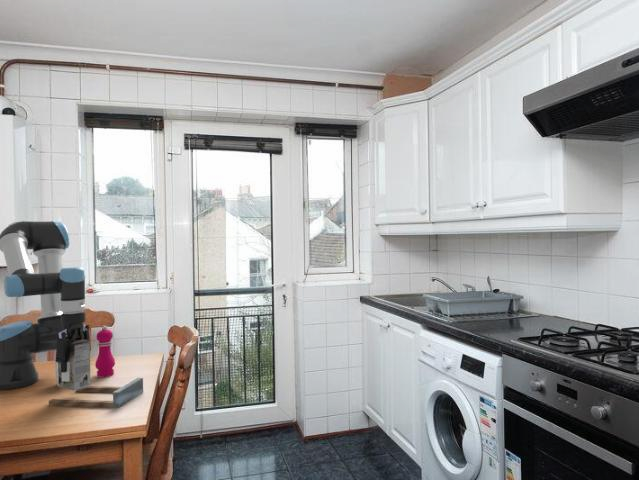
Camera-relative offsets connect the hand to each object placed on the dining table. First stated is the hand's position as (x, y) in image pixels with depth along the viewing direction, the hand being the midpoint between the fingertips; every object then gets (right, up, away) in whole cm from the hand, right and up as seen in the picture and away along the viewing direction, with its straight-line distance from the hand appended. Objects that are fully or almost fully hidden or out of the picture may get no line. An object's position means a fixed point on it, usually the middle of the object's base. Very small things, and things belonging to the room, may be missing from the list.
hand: (74, 377), depth 154 cm
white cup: (-11, -8, +16) cm, 21 cm away
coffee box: (0, -3, 0) cm, 3 cm away
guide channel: (+8, -7, -1) cm, 10 cm away
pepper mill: (-2, -7, +26) cm, 28 cm away
